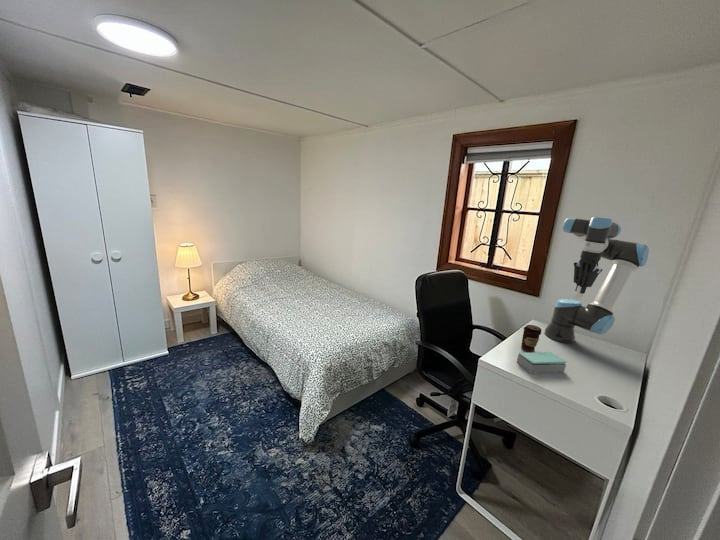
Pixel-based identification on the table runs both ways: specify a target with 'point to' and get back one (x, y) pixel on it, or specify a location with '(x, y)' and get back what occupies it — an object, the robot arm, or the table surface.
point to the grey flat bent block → (541, 366)
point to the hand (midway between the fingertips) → (577, 298)
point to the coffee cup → (530, 337)
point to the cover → (542, 357)
